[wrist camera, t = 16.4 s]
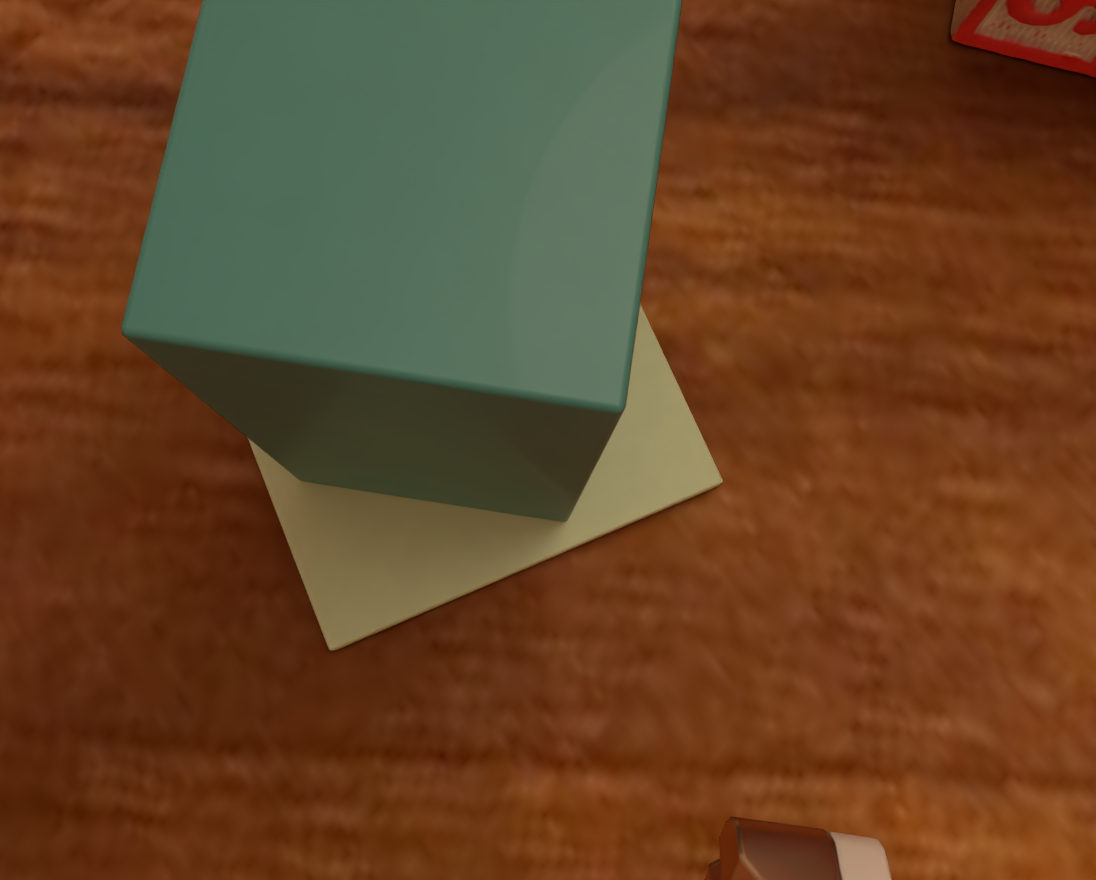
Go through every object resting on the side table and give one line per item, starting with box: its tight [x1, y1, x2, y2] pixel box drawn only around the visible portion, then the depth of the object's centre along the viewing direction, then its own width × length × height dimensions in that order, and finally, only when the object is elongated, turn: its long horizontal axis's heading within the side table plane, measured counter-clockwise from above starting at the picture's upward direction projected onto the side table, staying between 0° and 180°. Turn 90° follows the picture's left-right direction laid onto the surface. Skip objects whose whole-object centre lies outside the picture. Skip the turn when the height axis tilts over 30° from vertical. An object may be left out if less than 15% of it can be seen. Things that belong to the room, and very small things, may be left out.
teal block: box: [121, 0, 682, 522], centre depth 13 cm, size 4×4×8 cm
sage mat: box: [248, 304, 722, 650], centre depth 17 cm, size 7×7×1 cm
